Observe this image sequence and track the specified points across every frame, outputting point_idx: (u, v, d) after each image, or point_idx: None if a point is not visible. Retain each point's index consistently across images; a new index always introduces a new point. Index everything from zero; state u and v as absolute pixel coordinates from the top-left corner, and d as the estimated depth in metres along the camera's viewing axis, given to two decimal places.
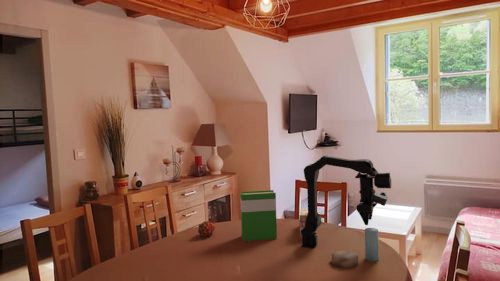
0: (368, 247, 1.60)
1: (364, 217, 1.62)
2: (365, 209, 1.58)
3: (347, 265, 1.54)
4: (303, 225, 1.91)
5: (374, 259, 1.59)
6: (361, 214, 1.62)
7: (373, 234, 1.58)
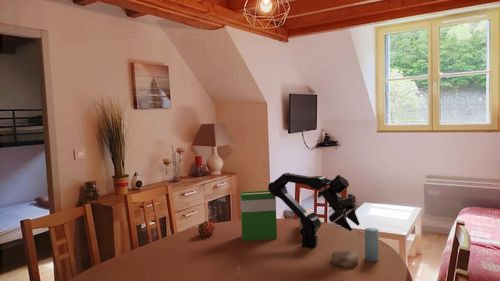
0: (368, 247, 1.60)
1: (343, 224, 1.63)
2: (335, 216, 1.61)
3: (347, 265, 1.54)
4: None
5: (374, 259, 1.59)
6: (339, 223, 1.63)
7: (373, 234, 1.58)
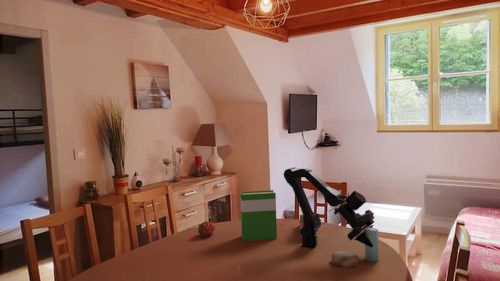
0: (368, 247, 1.60)
1: (364, 240, 1.59)
2: (354, 234, 1.56)
3: (347, 265, 1.54)
4: (303, 225, 1.92)
5: (374, 259, 1.59)
6: (360, 240, 1.60)
7: (373, 234, 1.58)
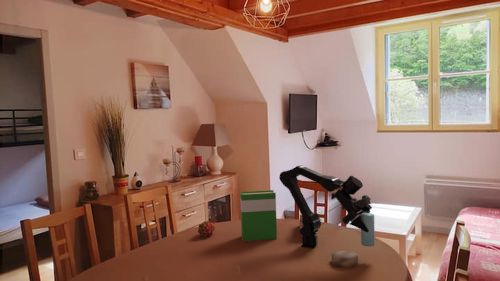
0: (363, 232, 1.58)
1: (359, 225, 1.58)
2: (349, 218, 1.55)
3: (347, 265, 1.54)
4: None
5: (370, 244, 1.58)
6: (355, 225, 1.59)
7: (369, 219, 1.57)
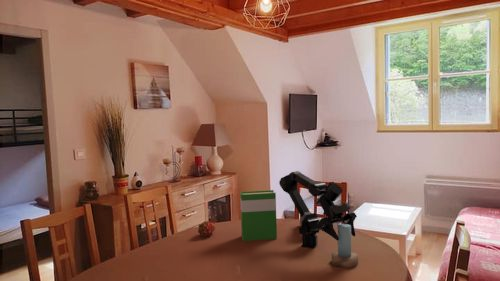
0: (338, 243, 1.58)
1: (331, 233, 1.57)
2: (321, 224, 1.57)
3: (347, 265, 1.54)
4: None
5: (344, 255, 1.56)
6: (327, 232, 1.58)
7: (343, 230, 1.56)
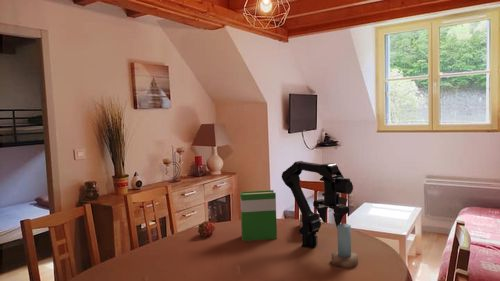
0: (338, 243, 1.58)
1: (338, 219, 1.64)
2: (346, 211, 1.61)
3: (347, 265, 1.54)
4: None
5: (344, 255, 1.56)
6: (337, 217, 1.63)
7: (343, 230, 1.56)
